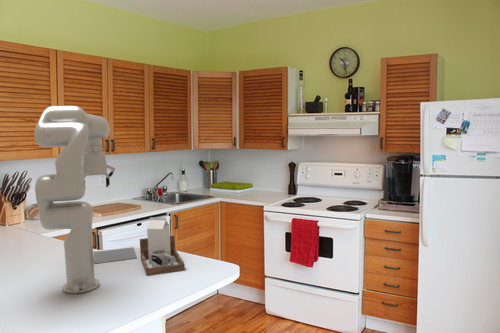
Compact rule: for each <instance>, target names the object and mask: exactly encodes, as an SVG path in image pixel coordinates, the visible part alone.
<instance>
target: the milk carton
mask: <svg viewBox="0 0 500 333" xmlns="http://www.w3.org/2000/svg"><path fill="white" fill-rule="evenodd" d="M146 231H147V232H146V233H147V234H146V235H147V238H148V253H149V259H148V263H149V264H152V259H151V252H152V251H155V250H167V251H168V254H169V255H171V249H170V236H171V233H170V232H171V231H170V224H169V223H168V221H167V217H152V216H151V217H149V222H148V225H147V228H146ZM168 261H171V260H170V258H168Z"/></svg>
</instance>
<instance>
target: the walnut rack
mask: <svg viewBox="0 0 500 333" xmlns="http://www.w3.org/2000/svg"><path fill="white" fill-rule="evenodd" d="M175 236H176V235H174V234H172V235H171V234H170V249H171V256H172V257H173V259H175V261H176V263H177V264H173V265H171V264H169V266H162V267H154V268H152V267H149V265H148V262H147V260H149V253H148V237H147V238H139V248H140V250H139V251H140V252H139V253H140V261H141V264H142V266H143V270H144V272H145V276H153V275H160V274H167V273H174V272H176V273H177V272H182V271H186V270H185V269H186V268H185V262H184V260H183V259H182V257H181V255H180V254H179V252H178V251H177V249H176V239H175V238H176V237H175Z"/></svg>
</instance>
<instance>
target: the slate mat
mask: <svg viewBox="0 0 500 333" xmlns="http://www.w3.org/2000/svg"><path fill="white" fill-rule="evenodd" d="M93 259H94V265H97V264H105V263H113V262H121V261H127V260H128V261H129V260H130V261H131V260H136V259H138V257H137V253H136V251H135V248H134V246H133V247H125V248H116V249H107V250H100V251H99V250H98V251H93Z"/></svg>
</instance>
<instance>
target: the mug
mask: <svg viewBox="0 0 500 333" xmlns="http://www.w3.org/2000/svg"><path fill="white" fill-rule="evenodd" d="M168 258H170V260H168ZM151 259H152V263H151V268H154V267H162V266H169V265H174V256H171V255H169V254H168V251H167V250H155V251H152V252H151ZM169 261H170V264H169Z"/></svg>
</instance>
